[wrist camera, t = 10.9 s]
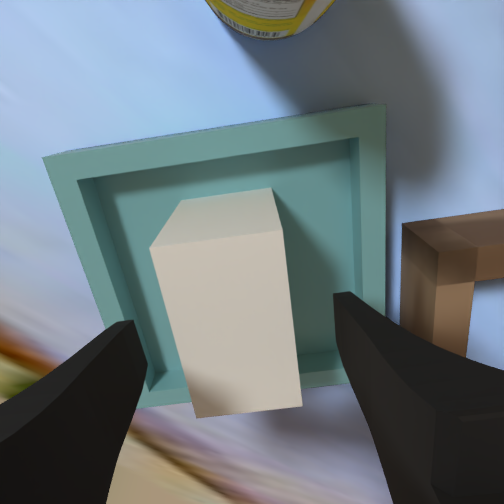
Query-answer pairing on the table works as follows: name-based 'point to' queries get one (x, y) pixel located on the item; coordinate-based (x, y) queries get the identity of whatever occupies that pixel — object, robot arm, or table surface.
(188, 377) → the cream rectangular block
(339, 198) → the tray
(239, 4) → the supplement bottle
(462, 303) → the bay
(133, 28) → the table surface
